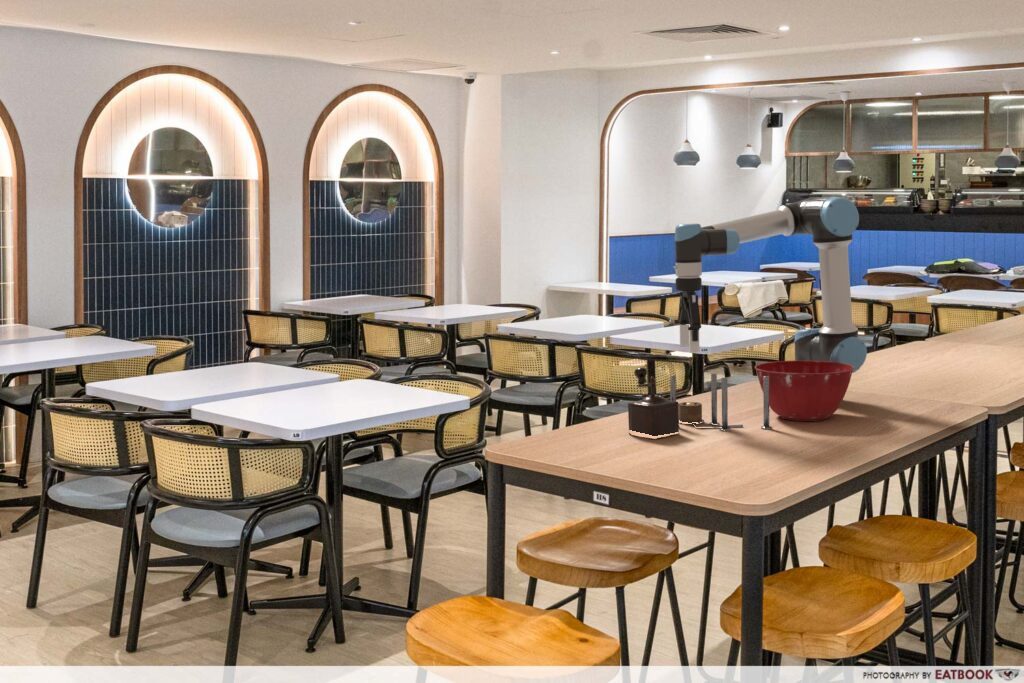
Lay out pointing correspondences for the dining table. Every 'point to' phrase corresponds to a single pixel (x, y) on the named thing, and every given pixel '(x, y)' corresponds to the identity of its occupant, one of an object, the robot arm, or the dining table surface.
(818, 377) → the mixing bowl
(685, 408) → the napkin ring
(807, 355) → the robot arm
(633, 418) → the brown coffee grinder
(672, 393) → the wire course
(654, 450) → the dining table surface
